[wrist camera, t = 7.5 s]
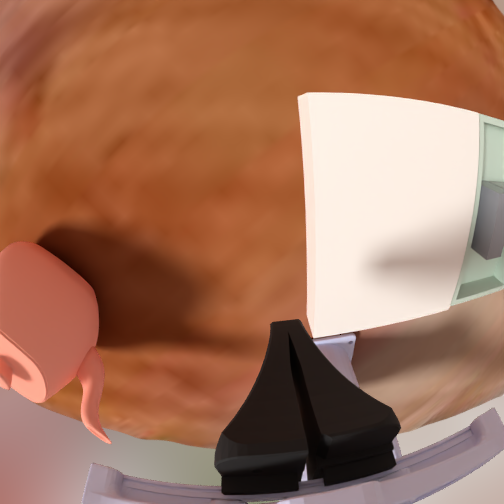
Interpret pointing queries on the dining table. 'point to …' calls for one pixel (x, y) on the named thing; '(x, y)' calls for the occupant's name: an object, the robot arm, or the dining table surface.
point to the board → (384, 207)
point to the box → (474, 265)
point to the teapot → (48, 329)
